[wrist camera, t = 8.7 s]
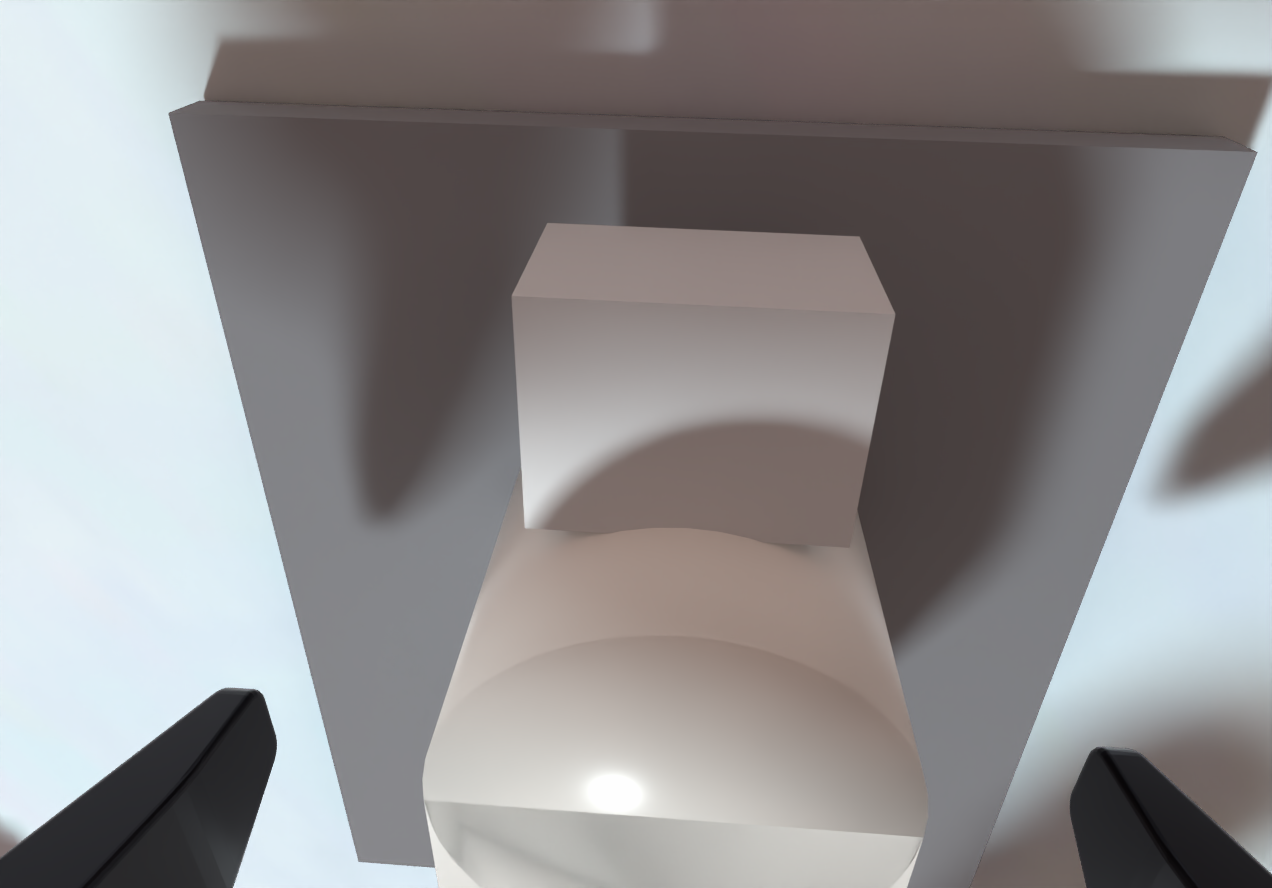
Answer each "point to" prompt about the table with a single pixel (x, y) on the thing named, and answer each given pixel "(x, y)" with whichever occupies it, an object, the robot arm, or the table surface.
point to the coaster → (706, 200)
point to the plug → (683, 583)
